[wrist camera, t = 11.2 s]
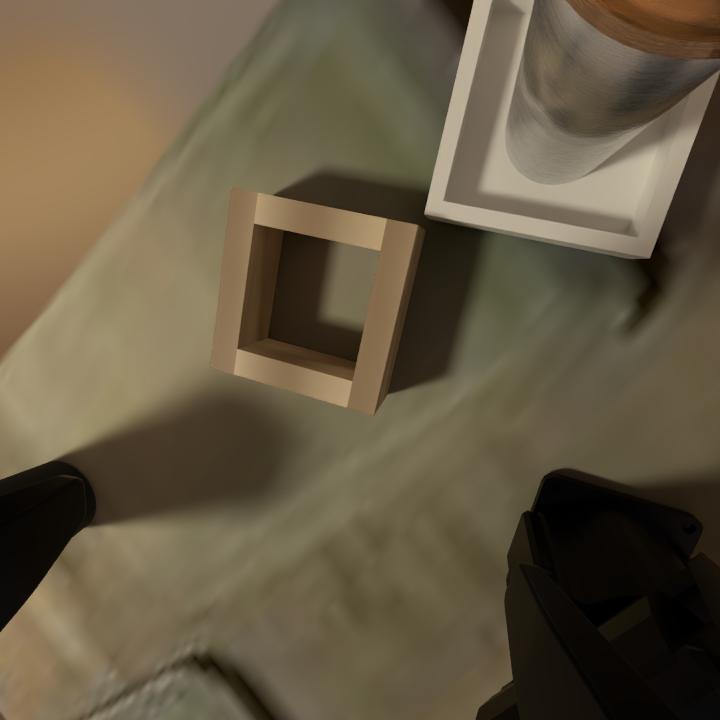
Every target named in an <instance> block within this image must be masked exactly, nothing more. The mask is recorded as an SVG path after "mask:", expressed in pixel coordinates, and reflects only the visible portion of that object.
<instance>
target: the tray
mask: <svg viewBox="0 0 720 720" xmlns="http://www.w3.org/2000/svg"><path fill="white" fill-rule="evenodd" d="M533 4H534V0H474V3H473V7H472V12H471V16H470V20H469V24H468V29H467V33H466V37H465V42H464V46H463V50H462V54H461V59H460V63H459V67H458V71H457V76H456V80H455V84H454V88H453V93H452V97H451V101H450V106H449V110H448V114H447V118H446V123H445V127H444V131H443V135H442V140H441V144H440V148H439V153H438V157H437V161H436V165H435V170H434V174H433V178H432V182H431V187H430V191H429V195H428V200H427V204H426V208H425V212H424V215H425V216H426V217H427V218H428V219H429V220H434V221H439V222H444V223H449V224H455V225H460V226H465V227H470V228H475V229H480V230H485V231H490V232H495V233H500V234H505V235H510V236H515V237H520V238H525V239H530V240H535V241H541V242H546V243H551V244H556V245H561V246H566V247H571V248H576V249H581V250H586V251H591V252H596V253H601V254H606V255H611V256H616V257H622V258H627V259H645V258H650V256H651V254H652V251H653V248H654V246H655V243H656V240H657V238H658V235H659V233H660V230H661V227H662V225H663V222H664V219H665V217H666V214H667V211H668V209H669V206H670V203H671V201H672V198H673V196H674V193H675V190H676V188H677V185H678V182H679V180H680V177H681V174H682V172H683V169H684V166H685V164H686V161H687V159H688V156H689V153H690V151H691V148H692V145H693V143H694V140H695V137H696V135H697V132H698V129H699V127H700V124H701V122H702V119H703V116H704V114H705V111H706V108H707V106H708V103H709V100H710V98H711V95H712V92H713V90H714V87H715V85H716V82H717V79H718V77H719V74H720V70H719V71H717V72H716V73H715V74H714V75H712V76H711V77H710V78H708V79H707V80H706V81H705V82H703V83H702V84H701V85H700V86H698V87H697V88H696V89H695V90H693V91H692V92H691V93H690V94H688V95H687V96H686V97H684V98H683V99H682V100H681V101H679V102H678V103H677V104H676V105H674V106H673V107H672V108H671V109H669V110H668V111H667V112H666V113H664V114H663V115H662V116H660V117H659V118H658V119H657V120H655V121H654V122H653V123H652V124H650V125H649V126H648V127H647V128H645V129H644V130H643V131H642V132H640V133H639V134H638V135H636V136H635V137H634V138H633V139H631V140H630V141H629V142H628V143H626V144H625V145H624V146H623V147H621V148H620V149H619V150H617V151H616V152H615V153H614V154H612V155H611V156H610V157H609V158H607V159H606V160H605V161H604V162H602V163H601V164H600V165H599V166H597V167H596V168H595V169H593V170H592V171H591V172H589V173H588V174H587V175H585V176H583V177H581V178H579V179H577V180H575V181H572V182H569V183H565V184H559V185H546V184H541V183H537V182H534V181H532V180H529V179H528V178H526V177H524V176H523V175H522V174H521V173H519V172H518V171H517V169H516V168H515V167H514V166H513V164H512V163H511V161H510V159H509V157H508V154H507V151H506V147H505V136H504V135H505V126H506V121H507V117H508V113H509V108H510V104H511V99H512V95H513V91H514V86H515V82H516V78H517V73H518V69H519V65H520V60H521V56H522V52H523V47H524V43H525V39H526V34H527V30H528V26H529V21H530V17H531V12H532V8H533Z"/></svg>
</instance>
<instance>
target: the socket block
mask: <svg viewBox="0 0 720 720" xmlns="http://www.w3.org/2000/svg"><path fill="white" fill-rule="evenodd" d="M284 230H286V231H291V232H295V233H300V234H305V235H309V236H314V237H319V238H323V239H328V240H332V241H337V242H342V243H346V244H351V245H355V246H360V247H365V248H369V249H374V250H379V251H380V254H379V259H378V264H377V269H376V273H375V278H374V283H373V287H372V292H371V297H370V302H369V306H368V311H367V316H366V320H365V325H364V330H363V334H362V339H361V344H360V349H359V353H358V358H357V362H354V361H350V360H347V359H343V358H339V357H336V356H332V355H328V354H325V353H321V352H317V351H314V350H310V349H306V348H303V347H299V346H295V345H291V344H288V343H284V342H280V341H277V340H273V339H269V338H268V333H269V327H270V320H271V314H272V307H273V300H274V294H275V287H276V281H277V274H278V268H279V261H280V254H281V248H282V241H283V235H284ZM425 233H426V231H425V230H424V229H423V228H421V227H420V226H419V225H416V224H411V223H406V222H401V221H396V220H391V219H386V218H381V217H376V216H371V215H366V214H361V213H356V212H351V211H346V210H341V209H336V208H331V207H326V206H321V205H316V204H311V203H306V202H301V201H296V200H291V199H286V198H281V197H276V196H271V195H267V194H262V193H257V192H252V191H247V190H242V189H237V188H232V187H231V195H230V204H229V212H228V221H227V229H226V238H225V246H224V255H223V263H222V272H221V280H220V289H219V297H218V306H217V314H216V323H215V331H214V340H213V348H212V357H211V365H210V367H211V368H214V369H217V370H221V371H224V372H227V373H231V374H234V375H238V376H241V377H244V378H248V379H251V380H255V381H258V382H261V383H265V384H268V385H272V386H275V387H278V388H282V389H285V390H289V391H292V392H295V393H299V394H302V395H306V396H309V397H312V398H316V399H319V400H323V401H326V402H329V403H333V404H336V405H340V406H343V407H346V408H350V409H353V410H357V411H360V412H363V413H367V414H370V415H375V413H376V411H377V410H378V408H379V407H380V405H381V404H382V402H383V401H384V399H385V397H386V396H387V393H388V389H389V385H390V381H391V376H392V372H393V368H394V364H395V360H396V355H397V351H398V347H399V343H400V339H401V334H402V330H403V326H404V322H405V318H406V313H407V309H408V305H409V301H410V297H411V292H412V288H413V284H414V280H415V276H416V271H417V267H418V263H419V259H420V254H421V250H422V246H423V242H424V238H425Z"/></svg>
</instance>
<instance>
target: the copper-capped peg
mask: <svg viewBox="0 0 720 720" xmlns="http://www.w3.org/2000/svg"><path fill="white" fill-rule="evenodd" d="M719 70H720V0H534V4H533V8H532V12H531V17H530V21H529V26H528V30H527V34H526V39H525V43H524V47H523V52H522V56H521V60H520V65H519V69H518V73H517V78H516V82H515V86H514V91H513V95H512V99H511V104H510V108H509V113H508V117H507V121H506V126H505V135H504V136H505V147H506V151H507V154H508V157H509V159H510V161H511V163H512V164H513V166H514V167H515V168H516V169H517V171H518V172H519V173H521V174H522V175H523V176H524V177H526V178H528V179H529V180H532V181H534V182H537V183H541V184H546V185H559V184H565V183H569V182H572V181H575V180H577V179H579V178H581V177H583V176H585V175H587V174H588V173H589V172H591V171H592V170H593V169H595V168H596V167H597V166H599V165H600V164H601V163H602V162H604V161H605V160H606V159H607V158H609V157H610V156H611V155H612V154H614V153H615V152H616V151H617V150H619V149H620V148H621V147H623V146H624V145H625V144H626V143H628V142H629V141H630V140H631V139H633V138H634V137H635V136H636V135H638V134H639V133H640V132H642V131H643V130H644V129H645V128H647V127H648V126H649V125H650V124H652V123H653V122H654V121H655V120H657V119H658V118H659V117H660V116H662V115H663V114H664V113H666V112H667V111H668V110H669V109H671V108H672V107H673V106H674V105H676V104H677V103H678V102H679V101H681V100H682V99H683V98H684V97H686V96H687V95H688V94H690V93H691V92H692V91H693V90H695V89H696V88H697V87H698V86H700V85H701V84H702V83H703V82H705V81H706V80H707V79H708V78H710V77H711V76H712V75H714V74H715V73H716V72H717V71H719Z"/></svg>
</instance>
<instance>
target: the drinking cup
mask: <svg viewBox="0 0 720 720" xmlns="http://www.w3.org/2000/svg"><path fill="white" fill-rule="evenodd" d="M59 475H67V476H72V477H77V478H80V479H82V481H83V482H84V488H85V499H86V515H85V518H84V520H83V522H82V524H81V525H80V527H79V528H78V529H77V531H76V532H75V534H74V535H73V536H75V535H76V534H77V533H78V532H80V531H81V530H82V529H83V528H84V527H86V526H87V525H88V524H89V523H90V522H91V520H92V519H93V516H94V513H95V498H94V494H93V491H92V489H91V487H90V485H89V483H88V481H87V480H86V479H85V477H84V476H83V475H82V474H81V473H80V472H79V471H78V470H77V469H75V468H74V467H72V466H70V465H69V464H66V463H63V462H57V461H53V462H48V463H45V464H43V465H40V466H37V467H34V468H32V469H29V470H26V471H23V472H21V473H18V474H15V475H12V476H10V477H7V478H4V479H1V480H0V496H3V495H5V494H8V493H11V492H14V491H17V490H20V489H22V488H25V487H28V486H31V485H34V484H36V483H39V482H42V481H45V480H48V479H51V478H53V477H56V476H59Z"/></svg>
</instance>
